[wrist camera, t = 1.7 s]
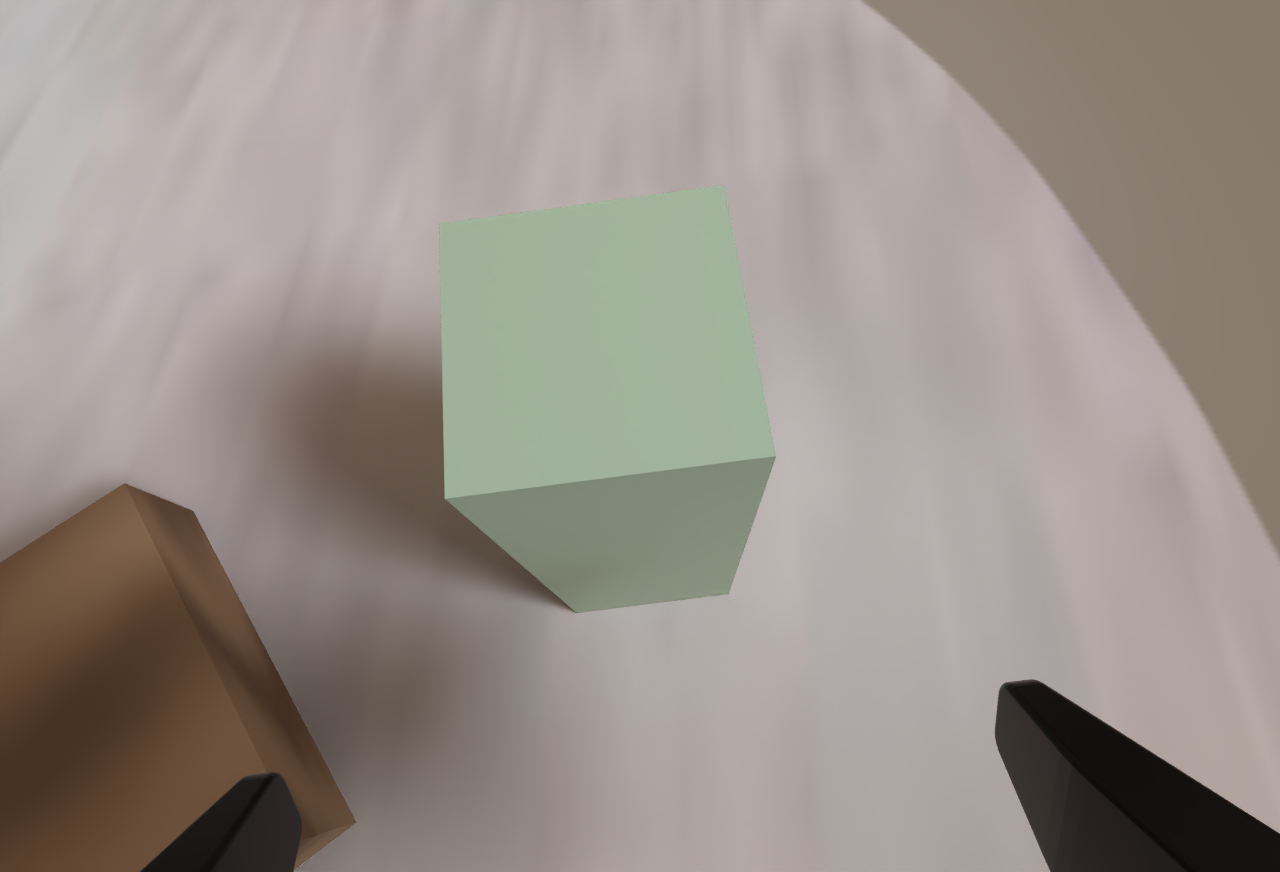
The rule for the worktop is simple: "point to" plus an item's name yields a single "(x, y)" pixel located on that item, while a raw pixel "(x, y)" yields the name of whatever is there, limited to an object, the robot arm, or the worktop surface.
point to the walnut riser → (136, 694)
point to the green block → (605, 395)
